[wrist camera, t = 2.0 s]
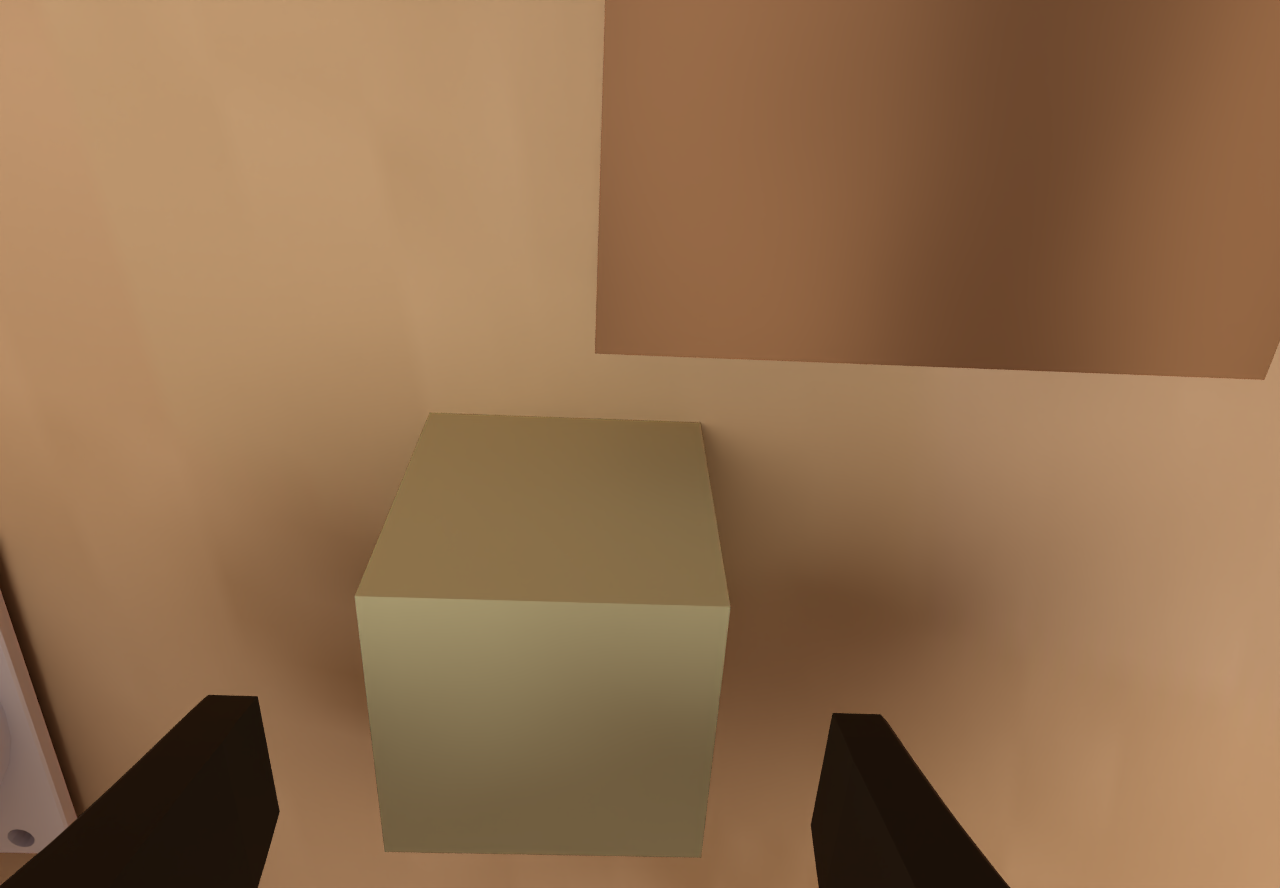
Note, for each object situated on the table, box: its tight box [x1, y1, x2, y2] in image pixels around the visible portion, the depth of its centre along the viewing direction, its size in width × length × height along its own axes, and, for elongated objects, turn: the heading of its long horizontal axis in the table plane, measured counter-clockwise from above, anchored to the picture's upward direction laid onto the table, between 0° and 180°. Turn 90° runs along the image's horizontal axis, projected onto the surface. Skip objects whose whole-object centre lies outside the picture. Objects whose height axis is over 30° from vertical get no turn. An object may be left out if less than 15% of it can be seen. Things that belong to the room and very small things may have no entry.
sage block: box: [355, 413, 730, 858], centre depth 15 cm, size 4×4×5 cm
